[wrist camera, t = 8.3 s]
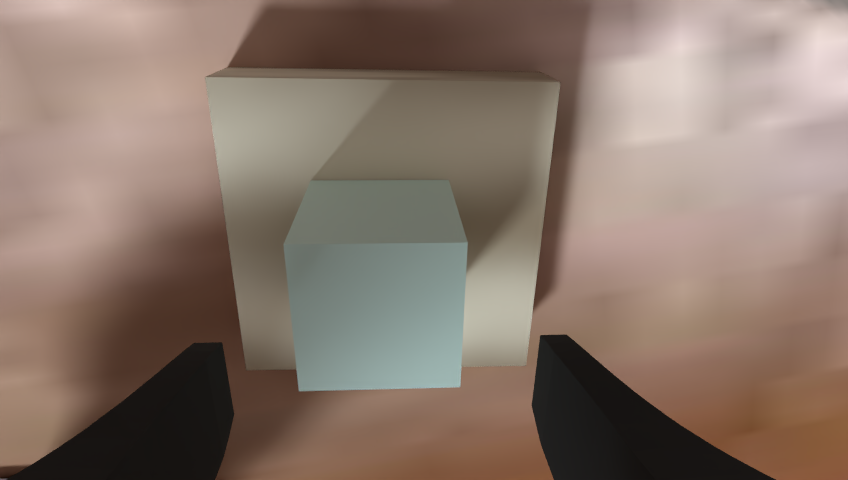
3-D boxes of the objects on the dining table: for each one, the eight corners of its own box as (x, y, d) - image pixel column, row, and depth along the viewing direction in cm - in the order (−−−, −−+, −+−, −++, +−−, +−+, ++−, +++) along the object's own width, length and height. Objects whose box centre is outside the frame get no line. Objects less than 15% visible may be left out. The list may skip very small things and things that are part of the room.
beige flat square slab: (510, 324, 24) (525, 365, 22) (262, 327, 24) (246, 370, 21) (537, 70, 20) (560, 82, 17) (231, 65, 19) (205, 77, 16)
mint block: (444, 298, 20) (460, 387, 16) (320, 300, 20) (298, 391, 15) (448, 179, 18) (467, 242, 14) (310, 180, 18) (283, 244, 13)
